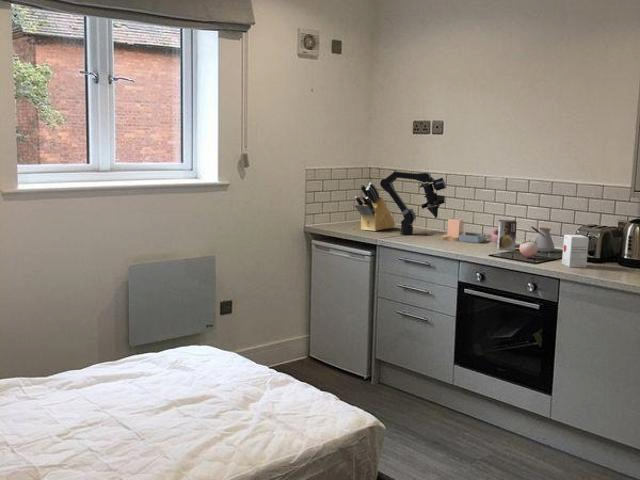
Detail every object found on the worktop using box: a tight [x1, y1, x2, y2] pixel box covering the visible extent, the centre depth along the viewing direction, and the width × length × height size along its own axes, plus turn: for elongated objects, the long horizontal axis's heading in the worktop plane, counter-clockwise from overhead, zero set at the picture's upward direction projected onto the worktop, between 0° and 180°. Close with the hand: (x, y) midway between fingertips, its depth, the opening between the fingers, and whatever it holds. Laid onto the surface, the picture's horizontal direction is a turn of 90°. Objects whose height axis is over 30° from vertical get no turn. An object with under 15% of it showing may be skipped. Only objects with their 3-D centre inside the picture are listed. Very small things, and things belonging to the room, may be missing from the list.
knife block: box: [354, 182, 396, 232], centre depth 459 cm, size 11×35×31 cm, turn 145°
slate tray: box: [458, 231, 486, 244], centre depth 425 cm, size 12×14×4 cm
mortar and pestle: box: [491, 227, 498, 245], centre depth 410 cm, size 12×12×12 cm
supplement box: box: [561, 234, 590, 268], centre depth 351 cm, size 9×9×15 cm
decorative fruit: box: [519, 238, 538, 259], centre depth 369 cm, size 9×8×10 cm
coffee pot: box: [528, 226, 555, 253], centre depth 389 cm, size 21×12×15 cm, turn 135°
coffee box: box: [496, 219, 518, 251], centre depth 397 cm, size 9×6×16 cm
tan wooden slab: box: [438, 233, 459, 242], centre depth 430 cm, size 12×14×2 cm
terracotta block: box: [446, 218, 464, 237], centre depth 429 cm, size 7×7×10 cm
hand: (436, 217), depth 435 cm, fingers closed
